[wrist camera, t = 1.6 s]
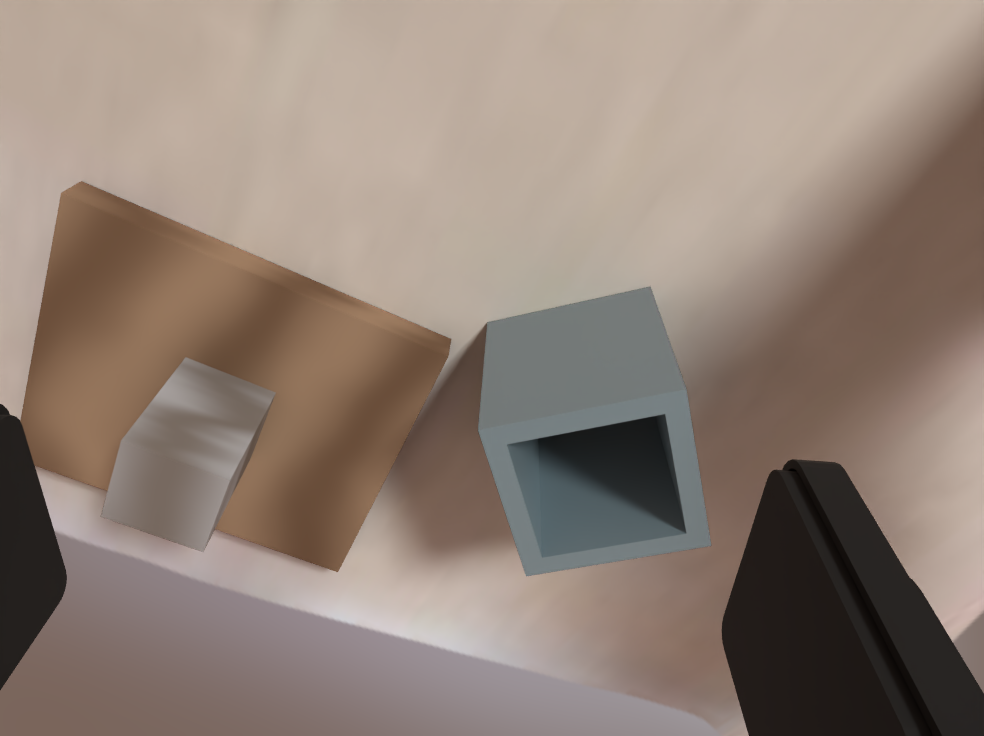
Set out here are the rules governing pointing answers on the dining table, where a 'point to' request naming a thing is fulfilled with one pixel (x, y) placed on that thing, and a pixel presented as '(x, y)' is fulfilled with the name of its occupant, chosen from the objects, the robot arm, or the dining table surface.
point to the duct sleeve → (591, 434)
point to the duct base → (235, 328)
